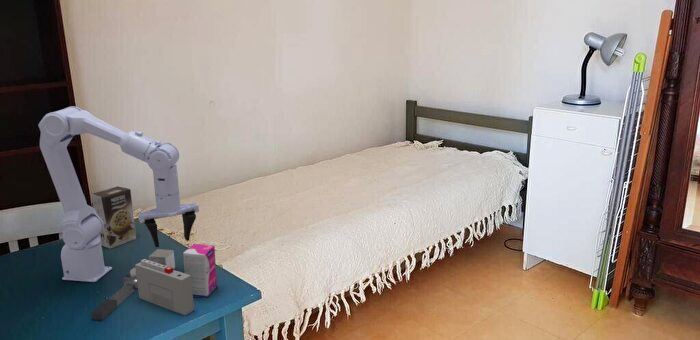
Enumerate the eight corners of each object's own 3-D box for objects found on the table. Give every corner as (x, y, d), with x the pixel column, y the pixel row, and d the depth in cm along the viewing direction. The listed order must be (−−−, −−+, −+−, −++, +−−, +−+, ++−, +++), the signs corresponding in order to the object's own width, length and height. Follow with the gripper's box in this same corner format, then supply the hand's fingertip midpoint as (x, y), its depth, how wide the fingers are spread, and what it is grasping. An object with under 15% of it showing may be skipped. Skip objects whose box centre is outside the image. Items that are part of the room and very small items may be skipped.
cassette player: (194, 310, 127) (190, 271, 124) (185, 315, 124) (181, 276, 122) (148, 293, 134) (143, 256, 131) (139, 298, 132) (134, 260, 129)
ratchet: (132, 278, 142) (130, 263, 141) (154, 279, 141) (152, 264, 140) (85, 319, 123) (82, 302, 122) (109, 321, 122) (106, 304, 121)
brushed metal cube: (150, 274, 144) (148, 256, 143) (159, 266, 148) (157, 249, 147) (167, 275, 143) (165, 257, 142) (175, 267, 148) (173, 250, 146)
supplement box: (208, 298, 132) (204, 254, 129) (185, 295, 133) (181, 252, 130) (218, 286, 137) (214, 244, 134) (196, 284, 138) (192, 243, 135)
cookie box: (110, 249, 159) (103, 197, 155) (97, 244, 163) (90, 193, 158) (137, 238, 167) (131, 188, 162) (124, 234, 170) (117, 185, 165)
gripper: (140, 202, 129) (146, 254, 133) (200, 192, 137) (204, 242, 140) (134, 194, 135) (140, 244, 139) (192, 184, 142) (196, 232, 146)
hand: (172, 242), depth 140 cm, fingers open, 7 cm apart
